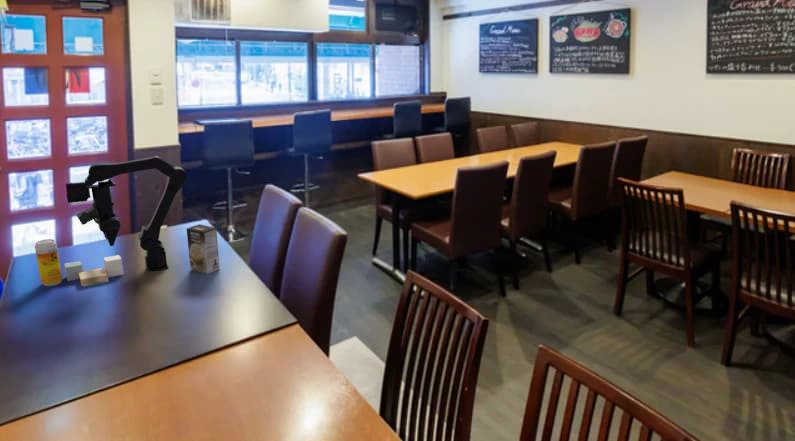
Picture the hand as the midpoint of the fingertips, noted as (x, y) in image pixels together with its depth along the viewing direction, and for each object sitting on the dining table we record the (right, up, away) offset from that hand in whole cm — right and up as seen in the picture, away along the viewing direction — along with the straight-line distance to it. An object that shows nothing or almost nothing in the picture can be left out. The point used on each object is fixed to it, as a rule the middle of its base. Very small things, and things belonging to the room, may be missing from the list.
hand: (109, 242), depth 190 cm
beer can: (-17, -14, -6) cm, 22 cm away
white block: (0, -11, +3) cm, 12 cm away
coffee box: (+31, -10, +8) cm, 34 cm away
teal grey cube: (-12, -12, 0) cm, 17 cm away
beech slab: (-4, -13, -3) cm, 14 cm away
